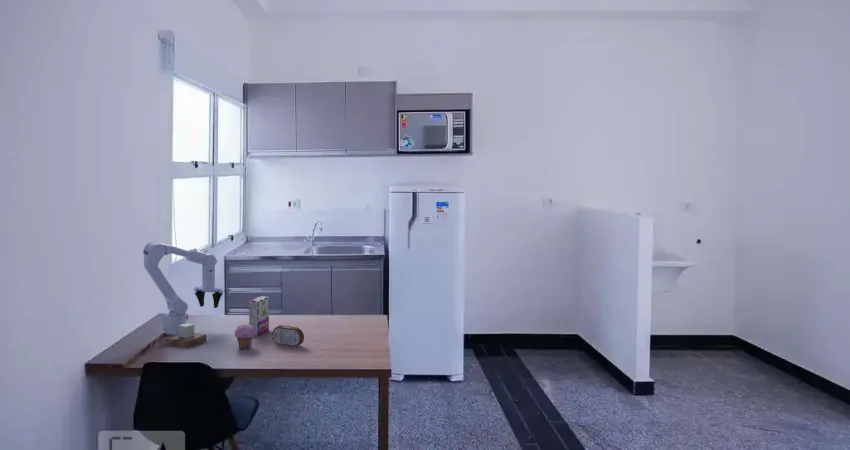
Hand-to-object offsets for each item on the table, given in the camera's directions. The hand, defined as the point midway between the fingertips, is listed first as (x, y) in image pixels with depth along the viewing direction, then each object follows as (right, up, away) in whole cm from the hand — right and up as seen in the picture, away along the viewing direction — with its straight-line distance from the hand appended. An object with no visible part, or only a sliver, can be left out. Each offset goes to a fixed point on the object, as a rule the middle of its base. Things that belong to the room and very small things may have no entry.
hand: (208, 306), depth 293 cm
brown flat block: (-1, -12, -25) cm, 28 cm away
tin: (+43, -14, -23) cm, 51 cm away
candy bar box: (+25, -12, -4) cm, 28 cm away
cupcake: (+26, -14, -29) cm, 41 cm away
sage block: (-1, -9, -25) cm, 27 cm away
